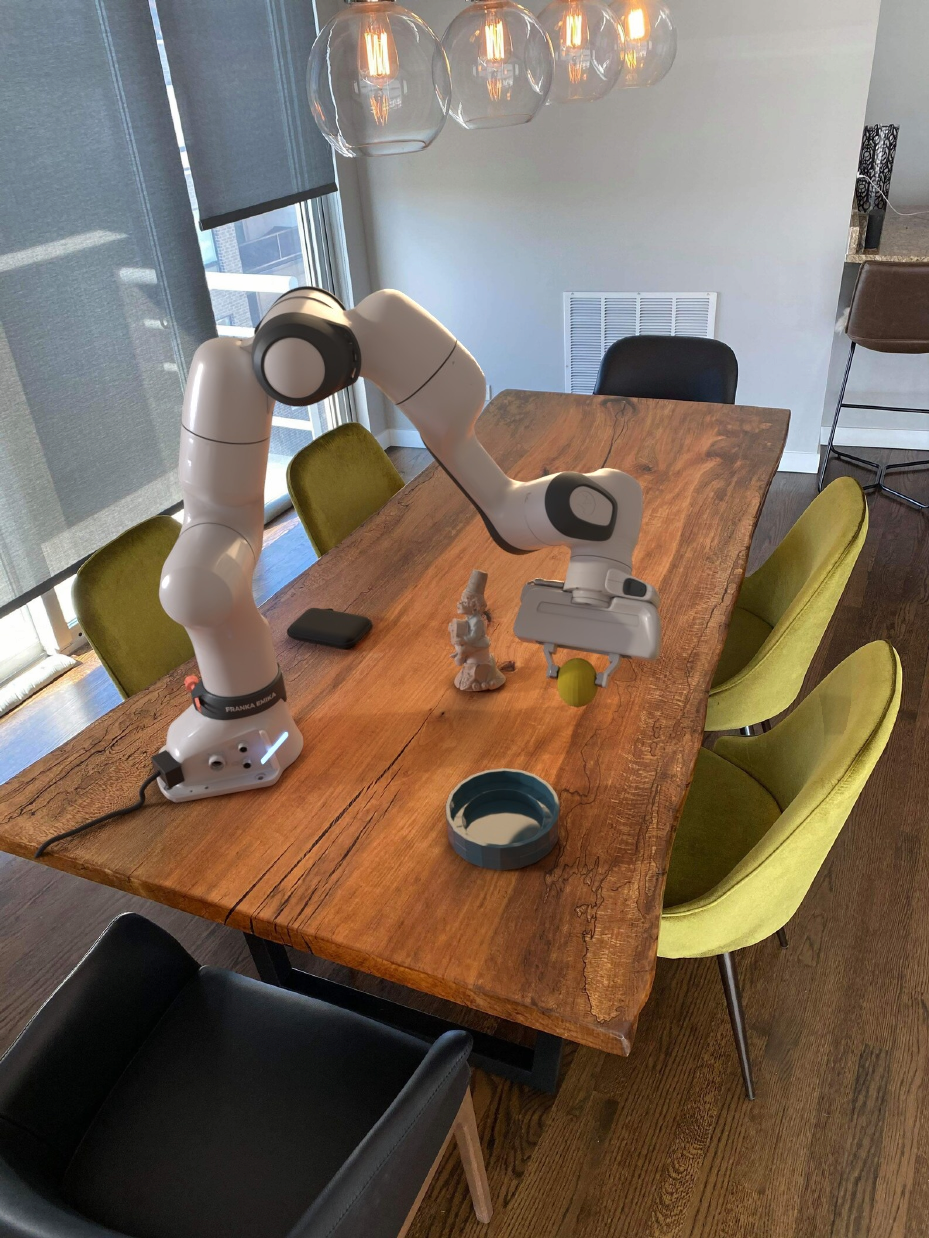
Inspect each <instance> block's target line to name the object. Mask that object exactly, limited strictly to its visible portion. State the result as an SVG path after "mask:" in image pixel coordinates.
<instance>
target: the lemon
mask: <svg viewBox="0 0 929 1238" xmlns="http://www.w3.org/2000/svg"><path fill="white" fill-rule="evenodd" d="M560 668H561V669H560V671H559V674H558V680H556V688H557V691H558V694H559V697H560V698H561V699H562V701H563V703H565V704H566V705H568V706H570V707H573V708H577V709H578V708H582V707H585V706H588V705H589V704H591V702H593V701H594V699H595V697H596V696H597V692H598V689H599V687H596V686H595V680H596V679H597V678H596V676H597V670H596V668H595V667H594V666H593V664H592V663H591V662H590V661H588V660H587V659H585V658H581V657H574V658H570V659H568V660H566V661H565V662H564V663H563V664H562V665H561V667H560Z"/></svg>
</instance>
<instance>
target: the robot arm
mask: <svg viewBox="0 0 929 1238" xmlns="http://www.w3.org/2000/svg"><path fill="white" fill-rule="evenodd" d="M189 367H190V368H189V371H188V374H187V379H186V385H185V389H184V395H183V403H182V409H181V410H182V411H181V423H180V438H179V450H178V451H179V452H178V453H179V454H178V469H177V470H178V471H177V481H178V483H179V486H180V487H181V492H182V498H183V499H182V500H183V520H182V526H181V529H180V532H179V534H178V537H177V539H176V541H175V544H174V545H173V547H172V549H171V551H170V552H169V554H168V556H167V558H166V559H165V561H164V563H163V566H162V569H161V575H160V581H159V590H158V597H159V601H160V605H161V606H162V608H163V610H164V612H165V614H167V615H168V616H169V617H170V619H171V620H173V621H174V622H175V623H177V624H179V625H180V626H182V627H183V628H184V629H185V631H186V633H187V634H188V637H189V639H190V641H191V644H192V647H193V651H194V655H195V658H196V661H197V662H196V663H197V666H198V669H199V673H200V676H201V678H200V679H198V677H197V676H195V675H188V676H186V678H185V679H184V685H185V690H186V691H187V692H188V693H190V696H191V702H192V704H190V706H189V707H187V708H186V709H185V710H184V711H183V712H182V713H181V714H180V715H179V716H178V717H176V718H175V719H174V720H173V721H172V722H171V724H170V725H169V728H168V729H167V733H166V739H165V740H166V742H165V745H163V746H162V747H161V748H160V750H159V751H158V753H156V754H155V755H152V756H150V759H151V763H152V766H153V769H154V773H153V774H151V775H150V776H149V777H147V778H146V779H145V780H144V782H143V783H142V784H141V786H140V787H139V790H138V796H139V800H138V801H137V802H136V803H135V804H133V805H131V806H129V807H126V808H122V809H118V810H114V811H111V812H108V813H106V814H104V815H102V816H100V817H97V818H96V819H93V820H90V821H88V822H86V823H83V824H82V825H80V826H78V827H76V828H73V829H71V830H68V831H65V832H63V833H60V834H58V835H57V834H56V835H55V836H53V837H51V838H49V839H47V840H46V841H45V842H43V843H42V844H41V845H40V846H39V848H37V850H36V852H35V854H34V856H33V858H34V859H38V858H40V857H41V856H42V855H43V854H44V852H45V851H46V850H47V849H48V848H49V847H50V846H51V845H53V844H55V843H57V842H59V841H62V840H65V839H68V838H70V837H73V836H75V835H77V834H80V833H82V832H84V831H87V830H88V829H90V828H92V827H95V826H97V825H100V824H102V823H104V822H106V821H108V820H110V819H113V818H116V817H120V816H122V815H127V814H130V813H132V812H134V811H137V810H139V809H140V808H141V807H143V805H144V804H145V802H146V798H147V797H146V792H145V791H146V790H147V788H148V787H149V785H151V784H152V783H153V782H154V781H155V780H156V782H157V785H158V787H159V790H160V792H161V793H162V794H163V796H164V797H165V798H166V799H168V800H170V801H171V802H174V803H185V802H189V801H194V800H195V801H196V800H199V799H200V800H201V799H206V798H210V797H216V796H222V795H227V794H232V793H239V792H245V791H249V790H256V789H261V788H267V787H271V786H274V785H275V784H276V783H277V782H278V781H279V780H280V778H281V776H282V774H283V772H284V771H285V770H286V769H287V768H288V767H290V765H292V764H293V763H294V762H295V761H296V760H297V759H298V757H299V756H300V754H301V753H302V751H303V748H304V736H303V734H302V732H301V730H299V728H298V725H297V724H296V722H295V720H294V718H293V715H292V713H291V710H290V707H289V705H288V702H287V700H288V697H287V693H288V691H287V686H286V681H285V676H284V672H283V670H282V668H281V665H280V663H279V662H278V661H277V656H276V651H275V646H274V641H273V636H272V635H273V634H272V631H271V630H272V629H271V626H270V622H269V621H268V619H267V618H266V617H264V615H262V614H261V613H260V610H259V608H258V605H257V604H256V600H255V598H254V592H253V580H254V579H253V578H254V573H255V570H256V567H257V565H258V562H259V559H260V556H261V554H262V551H263V546H264V544H263V543H264V533H265V532H264V529H265V488H266V478H267V470H268V462H269V461H268V460H269V454H270V444H271V435H272V427H273V418H274V411H275V406H276V402H278V403H280V404H282V405H285V406H289V407H294V408H303V407H308V406H312V405H315V404H318V403H320V402H322V401H324V400H327V399H328V398H329V397H331V396H333V395H334V394H336V393H339V392H340V391H342V390H345V389H346V388H349V387H350V386H352V385H354V384H356V383H357V381H358V380H359V378H363V379H365V380H367V381H368V382H370V383H372V384H373V385H374V386H375V387H376V388H377V389H378V390H379V391H381V392H382V393H383V394H384V396H386V397H387V399H388V400H389V401H391V402H392V404H394V405H395V407H396V408H398V410H399V411H400V412H401V413H402V414H404V416H405V417H406V418H407V419H408V420H409V422H410V423H411V424H412V425H413V426H414V428H415V429H416V430H417V432H418V433H419V437H420V439H421V442H422V443H423V445H424V447H425V449H426V450H427V451H428V452H429V455H430V456H432V458H433V459H434V460H435V462H436V463H437V464H438V465H439V466H440V468H441V469H442V471H444V472H445V474H446V475H447V476H448V477H449V478H450V479H451V481H452V483H454V484H455V486H456V487H457V488H458V489H459V490H460V492H462V494H463V495H464V496H465V497H466V499H467V500H468V501H469V503H471V504H472V505H473V507H474V508H475V509H476V511H477V513H478V514H479V517H481V520H482V521H483V524H484V525H485V528H486V530H487V532H488V534H489V536H490V537H491V539H492V540H493V542H494V543H495V544H496V545H497V547H499V548H500V549H501V550H503V551H504V552H506V553H508V554H511V555H515V556H525V555H529V554H532V553H535V552H538V551H540V550H543V549H549V548H554V547H561V546H563V547H566V548H568V549H569V550H570V555H569V559H568V563H567V568H566V574H565V578H564V580H556V579H545V578H541V577H536V578H534V579H533V580H530V581H528V582H526V583H525V584H523V586H522V589H521V593H520V597H519V598H520V600H519V601H520V605H519V607H518V611H517V614H516V616H515V620H514V622H513V623H514V624H513V626H512V627H513V628H512V631H513V633H514V636H515V637H516V638H517V640H519V641H520V642H522V643H528V644H532V645H533V644H534V645H540V646H543V648H542V651H543V655H544V658H545V660H546V664H547V669H546V673H545V674H546V675H545V677H546V678H547V679H549V680H555V681H557V680H558V674H559V671H560V669H561V667H560V665H557V664H556V663H555V660H554V657H553V656H557V652H558V649H564V650H569V651H576V652H582V653H589V654H593V655H594V654H595V655H601V656H607V657H608V658H607V660H608V663H610V664H609V665H608V666H607V667H606V669H605V670H604V671H603V672H598V671H596V674H597V676H596V678H597V679H596V680H595V686H596V687H598V688H601V689H606V690H607V689H608V687H609V683H610V678H611V677H612V676H613V675H614V674H615V673H616V672H617V670H618V669H619V668H620V667H621V665H622V659H625V660H632V661H637V662H638V661H639V662H645V663H650V664H651V663H654V662H655V661H657V660H658V659H659V658H660V656H661V651H662V641H663V622H662V618H661V615H660V613H659V612H658V611H659V609H660V605H661V596H660V593H659V592H658V590H657V589H656V587H655V586H654V585H653V584H650V583H648V582H646V581H644V580H641V579H640V578H638V577H635V576H633V570H634V569H633V555H634V552H635V549H636V547H637V546H638V543H639V539H640V534H641V529H642V524H643V523H642V522H643V515H644V493H643V488H642V485H641V483H640V482H639V480H637V479H636V478H635V477H634V476H633V475H631V474H629V473H627V472H625V471H622V470H621V469H615V468H609V467H608V468H607V467H606V468H605V467H604V468H599V469H597V470H596V471H593V472H586V473H581V472H578V471H574V470H573V471H572V470H568V471H559V472H555V473H552V474H549V475H545V476H542V477H539V478H537V479H533V480H528V481H518V480H515V479H512V478H510V477H508V476H507V475H506V474H505V472H503V470H502V468H501V467H500V466H499V465H498V464H497V462H496V461H495V460H494V459H493V457H491V455H490V454H489V452H487V450H486V449H485V448H484V446H483V445H482V443H480V441H479V440H478V438H477V435H476V432H475V424H476V422H477V421H478V419H479V417H480V415H481V413H482V411H483V409H484V406H485V404H486V398H487V380H486V376H485V374H484V371H483V369H482V368H481V366H480V365H479V363H478V362H477V360H476V358H475V357H474V356H473V355H472V354H471V353H470V351H469V350H468V349H467V348H466V347H465V346H464V345H463V344H462V343H461V342H460V341H459V340H458V339H457V338H456V337H455V336H454V335H453V334H452V332H450V331H449V329H447V327H445V326H444V324H442V323H441V322H440V320H438V319H437V318H436V317H434V316H433V315H432V314H431V313H430V312H429V311H428V310H426V309H425V308H423V306H421V305H420V304H418V303H417V302H416V301H415V300H413V299H412V298H410V297H409V296H408V295H406V294H405V293H403V292H401V291H400V290H396V289H392V288H384V289H381V290H377V291H375V292H373V293H371V294H369V295H367V296H366V297H364V298H363V299H362V300H361V301H360V302H359V303H358V304H357V305H356V306H355V307H353V308H351V309H348V310H347V309H346V307H345V305H344V304H343V303H342V302H341V300H340V299H339V298H338V297H337V296H336V295H334V294H333V293H331V292H330V291H329V290H326V289H324V288H322V287H318V286H312V285H303V286H298V287H294V288H291V289H289V290H288V291H286V292H284V293H283V294H282V295H280V296H279V297H278V298H277V299H276V300H275V301H274V303H272V305H271V306H270V308H269V309H268V310H267V312H266V313H265V314H264V316H263V317H262V319H260V321H259V322H258V323H257V325H256V326H255V327H254V331H253V335H252V336H251V337H247V338H242V337H235V336H218V337H213V338H210V339H208V340H206V341H204V342H203V343H202V344H199V346H198V347H197V349H196V350H195V352H194V354H193V358H192V361H191V364H190V366H189Z"/></svg>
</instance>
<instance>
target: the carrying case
mask: <svg viewBox="0 0 929 1238" xmlns="http://www.w3.org/2000/svg"><path fill="white" fill-rule="evenodd" d="M373 628H374V623H373V621H372V620H371V619H370V618H369V617H368V616H364V615H359V614H354V613H348V612H343V611H337V610H335V609H333V608H331V607H330V608H319V607H309V608H307V610H305V611H304V612H303V613H302V614H301V615H300V616H299V617H297V618H296V619H295V620H294V621H293V622H292V623H291V624H290V625H289V626H288V627H287V629H286V635H287V636H288V637H289V638H290V639H291V640H294V641H297V642H301V643H302V642H303V643H307V644H312V645H316V646H321V647H326V648H327V647H328V648H331V649H332V648H333V649H337V650H343V651H350V650H352V649H354V648H355V647H357V645H358V644H359V643H360V642H361V641H362V640H363V638H364V637H366V635H367V634H368V633H370V631H372V629H373Z"/></svg>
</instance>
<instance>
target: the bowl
mask: <svg viewBox="0 0 929 1238" xmlns="http://www.w3.org/2000/svg"><path fill="white" fill-rule="evenodd" d="M444 806H445V807H444V809H445V818H446V828H447V838H448V839H447V840H448V842H449V844H450V845H451V847H452V848H453V850H454V852H455V853H456V854H457V855H459V856H460V857H461V858H462V859H463V860H464V861H466V862H468V863H470V864H473V865H475V866H478V867H480V868H482V869H489V870H497V871H506V870H507V871H508V870H517V869H522V868H524V867H527V866H530V865H532V864H533V865H534V864H536V863H538V862H539V861H540V860H542V859H543V858H544V857H545V856H547V855H548V854H550V853H551V851H552V850H553V849H554V847H555V845H556V844H557V843H558V842H559V837H560V832H561V804H560V801H559V796H558V794H557V792H556V791H555V789H554V788H553V787H552V786H551V784H550V783H549V782H548V781H546V780H545V779H544V778H541V777H540V776H539V775H537V774H534V773H531V772H529V771H526V770H523V769H515V768H507V767H503V768H491V769H486V770H483V771H480V772H476V773H474V774H471V775H469V776H468V777H466V778H465V779H463V780H461V781H460V782H458V783H457V784H456V786H455V787H454V788H453V789H452V790H451V791H450V792H449V795H448V796H447V800H446V802H445V805H444Z"/></svg>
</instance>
